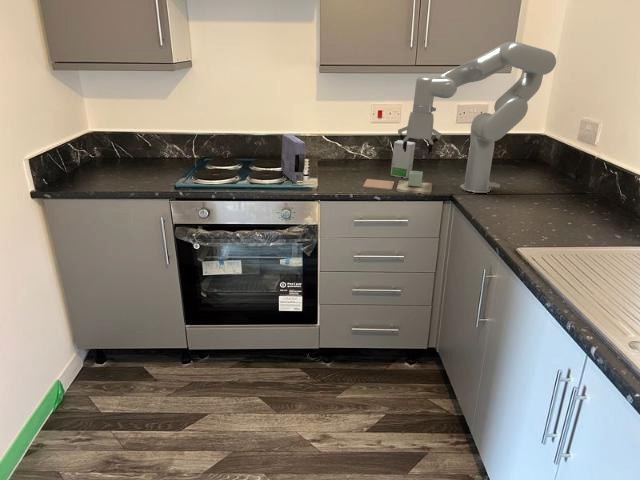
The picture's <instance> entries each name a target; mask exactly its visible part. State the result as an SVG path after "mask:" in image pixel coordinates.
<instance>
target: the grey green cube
mask: <svg viewBox="0 0 640 480" xmlns="http://www.w3.org/2000/svg"><path fill="white" fill-rule="evenodd" d="M423 173H424V171H419V170H412V171H410V172H409V177H408V180H407V181H408V185H409V186H420V187H421V184H422V182H423V175H424V174H423Z"/></svg>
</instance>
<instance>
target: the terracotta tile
mask: <svg viewBox="0 0 640 480" xmlns="http://www.w3.org/2000/svg"><path fill="white" fill-rule="evenodd" d="M394 184H395V181H393V180H384V179H382V180H381V179H373V178H372V179H371V178H366V180H365V182H364V184H363V186H362V188H364V189H373V190H374V189H375V190H383V191H384V190H386V191H392V190H393V188H394Z"/></svg>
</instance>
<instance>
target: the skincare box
mask: <svg viewBox="0 0 640 480" xmlns="http://www.w3.org/2000/svg"><path fill="white" fill-rule="evenodd" d="M415 149H416V142H414V141H408V140H407V148H406V152H404V149H403V140H402V139H398V140H396V141H394V143H393V151H392V157H391V158H392V159H391V169H390V176H391V177H395V178H401V177H403V178H402V179H406V178H407V179H409V172H410V171H413V165H414V163H413V162H414V156H415Z"/></svg>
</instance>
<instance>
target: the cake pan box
mask: <svg viewBox="0 0 640 480" xmlns="http://www.w3.org/2000/svg"><path fill="white" fill-rule="evenodd" d="M305 161H306V142H305V141H303V140H301V139H300V138H298V137H297V136H295V135H294V134H292V133H283V134H282V140H281V161H280V162H281V164H280V165H281V167H280V171H281V170H282V171H283V173H284V174H285V175H286V176H287V177H288V178H289V179H288V178H287V177H286V176H285V175H284V174H283V173H282V174H283V175H284V176H285V177H286V178H287V179H288V180H290V181H291V180H292V181H293V182H297V181H303V182H304V172H305V163H306V162H305ZM292 181H291V182H292ZM293 182H292V183H293Z"/></svg>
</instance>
